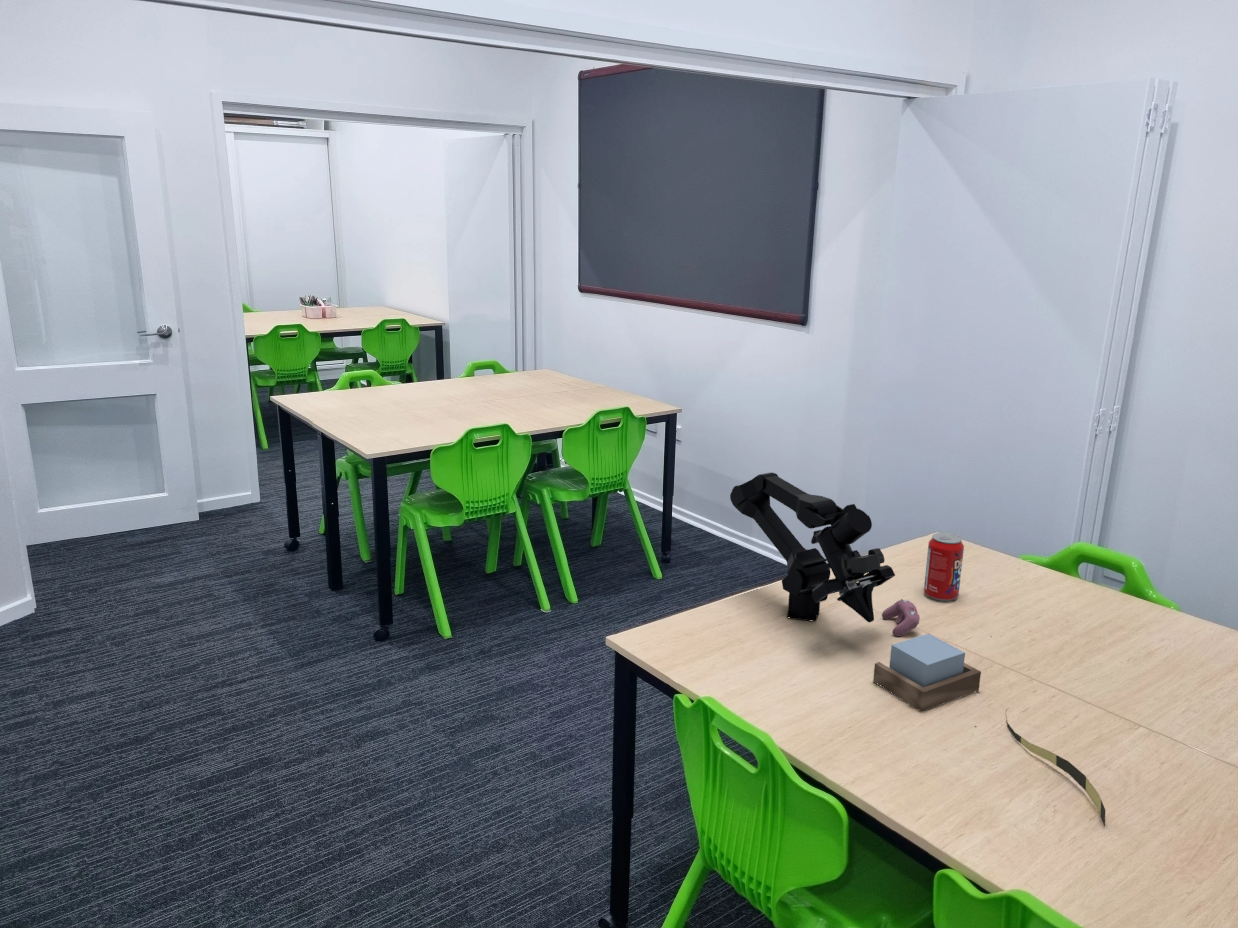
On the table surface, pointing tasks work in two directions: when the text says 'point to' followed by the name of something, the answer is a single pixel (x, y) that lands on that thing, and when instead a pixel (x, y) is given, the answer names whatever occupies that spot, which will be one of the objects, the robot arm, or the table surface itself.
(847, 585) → the robot arm
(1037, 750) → the tape
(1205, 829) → the table surface
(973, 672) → the walnut bay
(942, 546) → the soda can
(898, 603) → the video game controller
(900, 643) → the slate block
